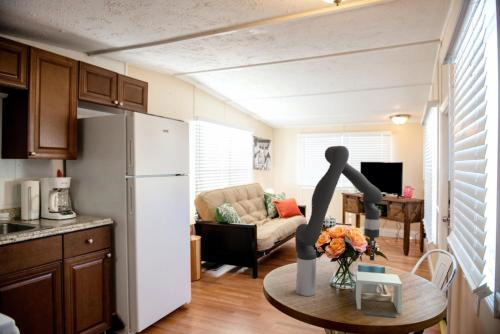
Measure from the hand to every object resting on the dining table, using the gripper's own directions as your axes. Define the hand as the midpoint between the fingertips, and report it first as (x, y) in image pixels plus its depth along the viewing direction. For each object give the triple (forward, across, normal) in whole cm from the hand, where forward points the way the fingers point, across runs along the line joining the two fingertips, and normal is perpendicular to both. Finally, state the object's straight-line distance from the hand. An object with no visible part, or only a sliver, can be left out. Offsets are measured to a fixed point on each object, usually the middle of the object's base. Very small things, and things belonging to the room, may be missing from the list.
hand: (371, 258), depth 180 cm
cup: (+14, +18, -1) cm, 23 cm away
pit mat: (+14, +38, 0) cm, 41 cm away
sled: (+13, +11, 0) cm, 17 cm away
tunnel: (+14, +29, 0) cm, 32 cm away
